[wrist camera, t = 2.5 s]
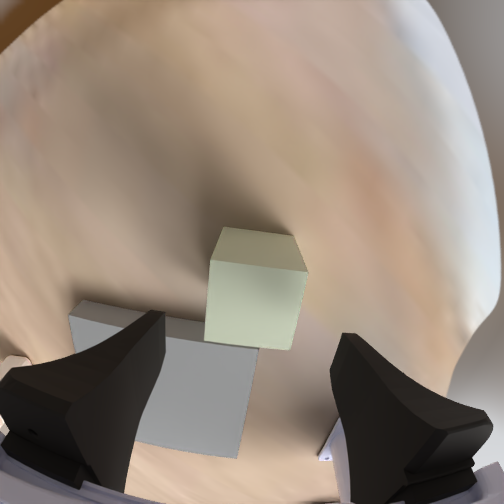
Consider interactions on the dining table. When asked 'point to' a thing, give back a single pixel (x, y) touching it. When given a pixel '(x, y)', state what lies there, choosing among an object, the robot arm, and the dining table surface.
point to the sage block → (254, 289)
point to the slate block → (182, 382)
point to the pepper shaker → (7, 364)
